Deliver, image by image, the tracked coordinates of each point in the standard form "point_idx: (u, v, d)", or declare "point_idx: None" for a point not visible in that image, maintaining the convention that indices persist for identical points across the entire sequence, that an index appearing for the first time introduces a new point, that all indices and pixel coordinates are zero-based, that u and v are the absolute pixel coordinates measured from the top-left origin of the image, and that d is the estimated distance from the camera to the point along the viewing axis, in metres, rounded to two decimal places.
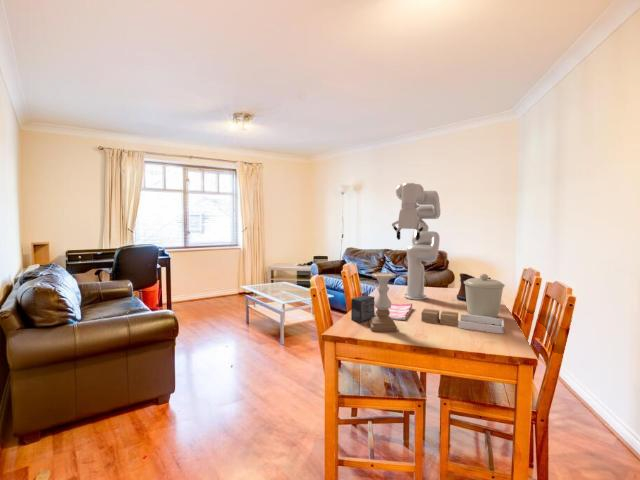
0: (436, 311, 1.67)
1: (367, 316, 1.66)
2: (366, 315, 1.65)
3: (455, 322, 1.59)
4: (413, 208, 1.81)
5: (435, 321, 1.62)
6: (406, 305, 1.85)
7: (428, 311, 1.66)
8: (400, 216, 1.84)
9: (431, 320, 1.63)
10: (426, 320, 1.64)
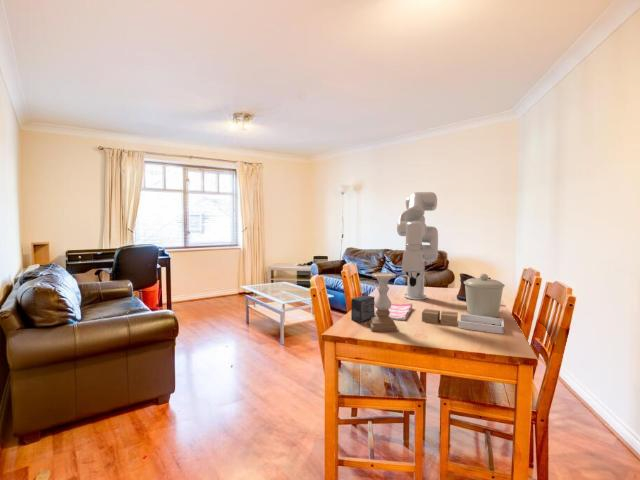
0: (436, 311, 1.66)
1: (367, 316, 1.66)
2: (366, 315, 1.65)
3: (456, 322, 1.59)
4: (418, 250, 1.65)
5: (435, 321, 1.62)
6: (406, 305, 1.85)
7: (429, 311, 1.65)
8: (404, 258, 1.68)
9: (431, 320, 1.63)
10: (426, 320, 1.64)
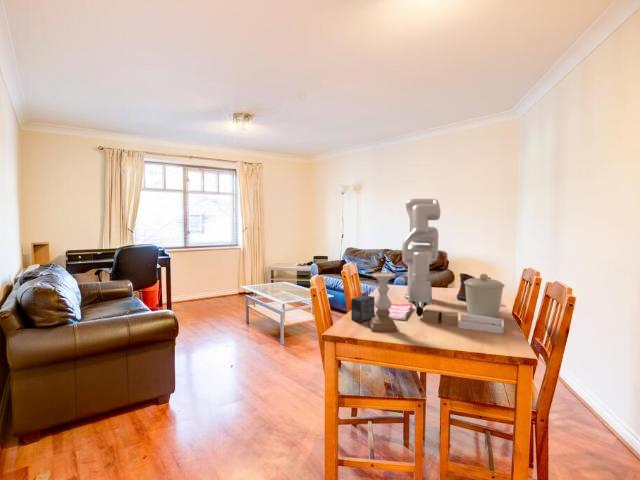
0: (437, 311, 1.66)
1: (367, 316, 1.66)
2: (366, 315, 1.65)
3: (456, 322, 1.59)
4: (425, 280, 1.64)
5: (436, 321, 1.62)
6: (406, 305, 1.85)
7: (429, 311, 1.65)
8: (411, 288, 1.68)
9: (432, 320, 1.63)
10: (427, 320, 1.64)
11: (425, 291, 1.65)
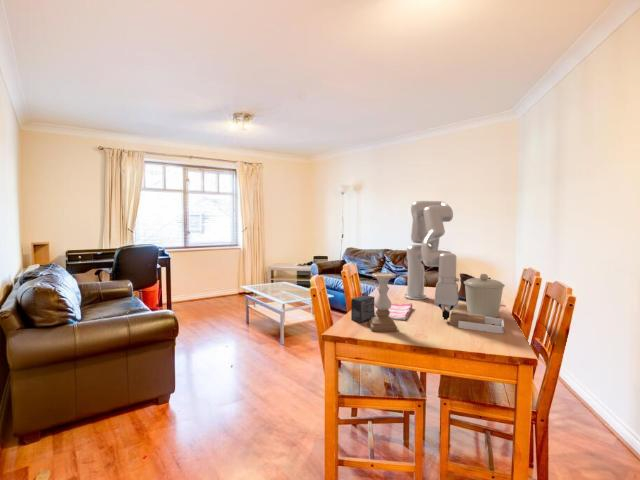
0: (464, 313, 1.61)
1: (367, 316, 1.66)
2: (366, 315, 1.65)
3: None
4: (453, 283, 1.59)
5: None
6: (406, 305, 1.85)
7: (457, 314, 1.60)
8: (437, 290, 1.62)
9: None
10: (455, 323, 1.59)
11: (452, 294, 1.59)
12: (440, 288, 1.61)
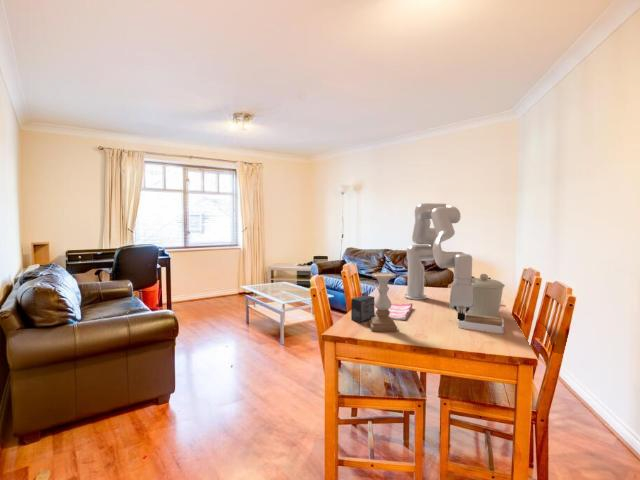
0: (480, 316, 1.58)
1: (367, 316, 1.66)
2: (366, 315, 1.65)
3: None
4: (469, 284, 1.56)
5: None
6: (406, 305, 1.85)
7: (472, 317, 1.57)
8: (452, 292, 1.59)
9: None
10: None
11: (468, 295, 1.56)
12: (455, 290, 1.59)
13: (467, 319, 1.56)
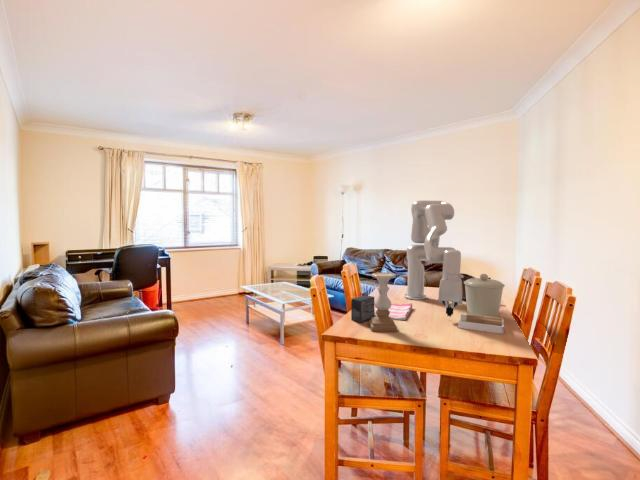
0: (481, 316, 1.58)
1: (367, 316, 1.66)
2: (366, 315, 1.65)
3: None
4: (457, 279, 1.58)
5: None
6: (406, 305, 1.85)
7: (473, 316, 1.57)
8: (441, 287, 1.62)
9: None
10: None
11: (456, 290, 1.59)
12: (444, 285, 1.61)
13: (468, 319, 1.56)
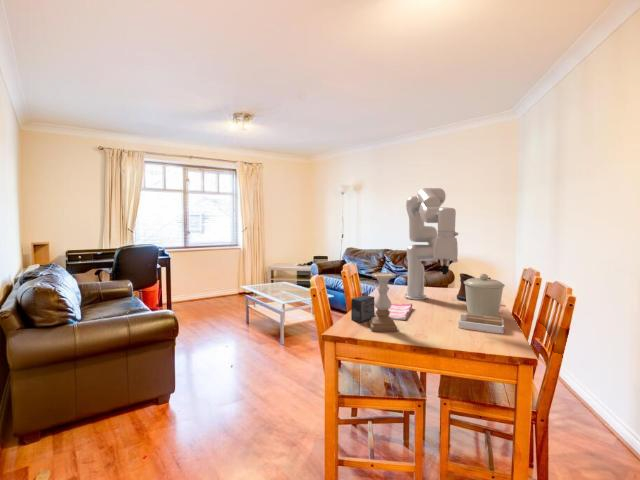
0: (481, 316, 1.58)
1: (367, 316, 1.66)
2: (366, 315, 1.65)
3: None
4: (452, 237, 1.58)
5: None
6: (406, 305, 1.85)
7: (473, 316, 1.57)
8: (436, 245, 1.62)
9: None
10: None
11: (451, 248, 1.59)
12: (439, 243, 1.61)
13: (467, 319, 1.56)
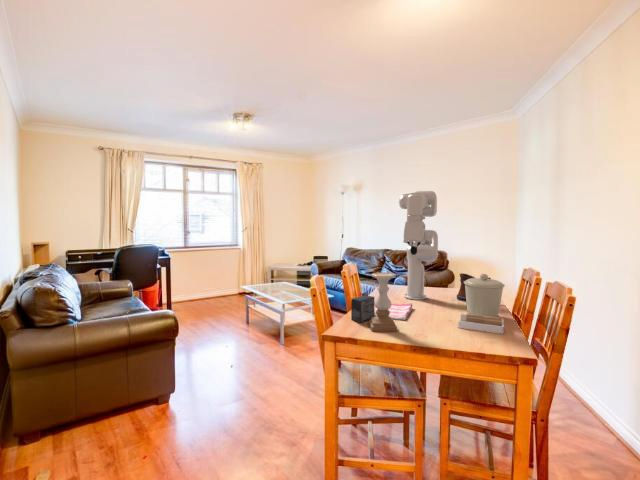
0: (480, 316, 1.58)
1: (367, 316, 1.66)
2: (366, 315, 1.65)
3: None
4: (419, 220, 1.76)
5: None
6: (406, 305, 1.86)
7: (473, 316, 1.57)
8: (406, 228, 1.80)
9: None
10: None
11: (419, 230, 1.77)
12: (408, 226, 1.79)
13: (467, 319, 1.56)
